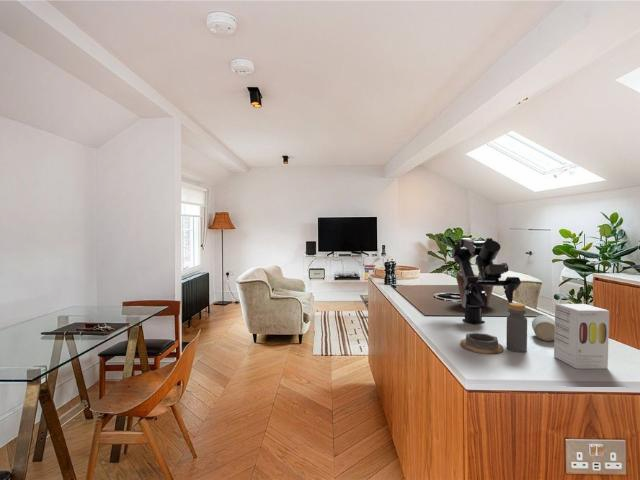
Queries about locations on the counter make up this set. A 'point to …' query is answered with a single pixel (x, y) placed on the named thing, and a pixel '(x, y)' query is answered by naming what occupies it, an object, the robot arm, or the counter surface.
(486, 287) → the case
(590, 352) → the supplement box
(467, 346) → the ring coaster
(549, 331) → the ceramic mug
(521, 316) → the bottle
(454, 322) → the counter surface
